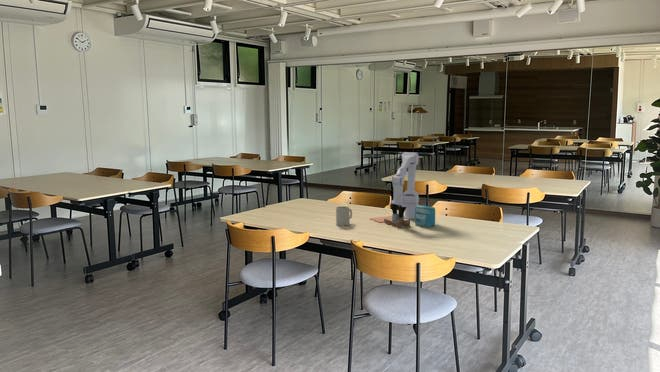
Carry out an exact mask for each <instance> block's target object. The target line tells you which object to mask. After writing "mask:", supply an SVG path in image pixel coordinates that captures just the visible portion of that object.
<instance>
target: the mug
mask: <svg viewBox="0 0 660 372" xmlns="http://www.w3.org/2000/svg"><path fill="white" fill-rule="evenodd" d="M335 215H336V216H335V219H336V221H335V223H336V226H338V225H341V226H340V227H343V226H342V225H347V226H349V225H350V221H351V219H352V217H353V210H352V209H351V208H350V207H349V206H347V205H346V206H342V205H341V206H337V207H336V209H335Z"/></svg>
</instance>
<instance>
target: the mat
mask: <svg viewBox="0 0 660 372" xmlns="http://www.w3.org/2000/svg"><path fill="white" fill-rule="evenodd" d="M369 219H370V221H371V220H372V221H374V222H376V223H379V224H382V223H384V219H388V220H390V221H392V215H389V216H381V217H379V216H378V217H370V218H369Z"/></svg>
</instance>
